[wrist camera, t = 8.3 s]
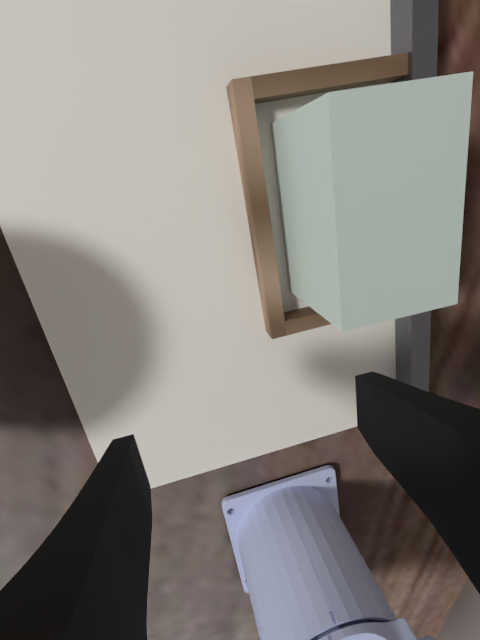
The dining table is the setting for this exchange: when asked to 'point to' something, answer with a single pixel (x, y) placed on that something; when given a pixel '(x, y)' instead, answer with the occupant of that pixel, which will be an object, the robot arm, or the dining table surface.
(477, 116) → the dining table surface
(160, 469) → the white square tray
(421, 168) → the carton
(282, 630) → the robot arm
